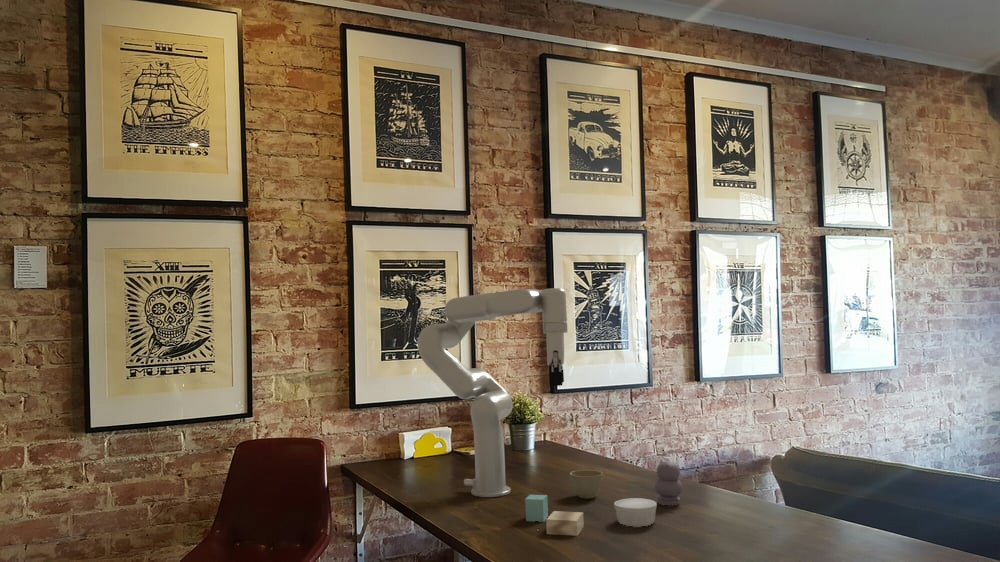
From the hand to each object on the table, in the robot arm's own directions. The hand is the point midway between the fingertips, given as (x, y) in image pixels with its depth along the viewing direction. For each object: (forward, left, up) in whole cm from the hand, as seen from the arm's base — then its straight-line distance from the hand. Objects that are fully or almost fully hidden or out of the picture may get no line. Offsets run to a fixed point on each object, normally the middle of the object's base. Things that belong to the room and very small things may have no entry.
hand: (558, 383), depth 228 cm
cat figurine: (+32, -1, -35) cm, 47 cm away
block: (-2, -23, -35) cm, 42 cm away
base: (+8, -32, -35) cm, 48 cm away
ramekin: (+25, -22, -35) cm, 48 cm away
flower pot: (+7, +3, -35) cm, 36 cm away
